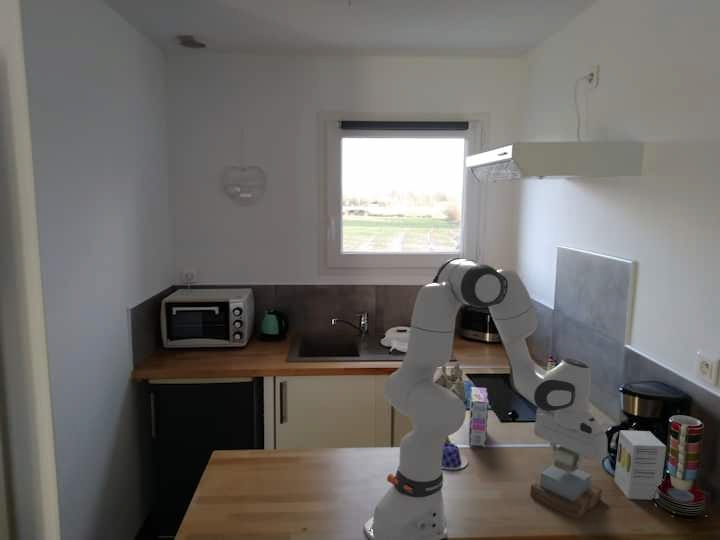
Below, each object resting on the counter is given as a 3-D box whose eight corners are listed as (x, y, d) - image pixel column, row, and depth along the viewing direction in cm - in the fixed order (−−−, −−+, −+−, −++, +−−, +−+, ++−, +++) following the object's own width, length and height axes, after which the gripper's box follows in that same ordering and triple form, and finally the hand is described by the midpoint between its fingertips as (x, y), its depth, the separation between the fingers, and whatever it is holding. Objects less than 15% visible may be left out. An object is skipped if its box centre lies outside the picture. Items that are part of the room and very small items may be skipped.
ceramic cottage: (434, 387, 229) (436, 355, 226) (470, 395, 222) (473, 363, 219) (422, 402, 215) (424, 369, 212) (461, 411, 209) (464, 377, 205)
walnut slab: (576, 521, 139) (577, 508, 139) (530, 497, 150) (531, 485, 149) (600, 501, 148) (601, 489, 148) (554, 480, 159) (555, 468, 158)
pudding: (430, 451, 175) (430, 436, 174) (466, 453, 173) (466, 439, 172) (430, 470, 163) (430, 454, 162) (469, 473, 161) (469, 457, 161)
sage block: (570, 473, 144) (572, 456, 143) (554, 466, 148) (555, 449, 147) (579, 467, 147) (580, 451, 147) (562, 460, 151) (564, 444, 150)
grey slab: (573, 501, 142) (575, 488, 141) (539, 485, 149) (540, 472, 148) (589, 487, 148) (590, 474, 148) (556, 473, 156) (557, 460, 155)
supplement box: (613, 480, 158) (618, 429, 155) (643, 481, 158) (649, 430, 155) (628, 499, 148) (634, 445, 146) (660, 500, 148) (667, 446, 146)
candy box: (486, 448, 177) (488, 402, 174) (468, 446, 178) (471, 400, 175) (484, 429, 190) (487, 387, 187) (468, 428, 191) (470, 385, 188)
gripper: (531, 406, 151) (528, 450, 153) (601, 432, 136) (597, 481, 138) (543, 401, 155) (539, 444, 157) (612, 425, 140) (607, 472, 142)
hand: (567, 461), depth 147 cm, fingers closed on sage block, 5 cm apart
